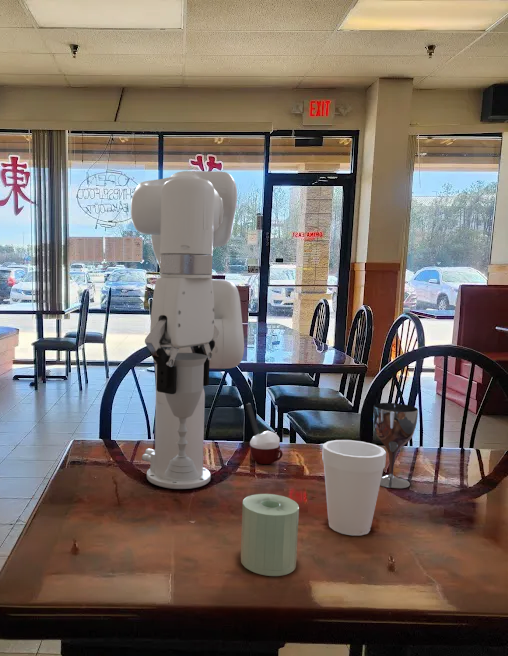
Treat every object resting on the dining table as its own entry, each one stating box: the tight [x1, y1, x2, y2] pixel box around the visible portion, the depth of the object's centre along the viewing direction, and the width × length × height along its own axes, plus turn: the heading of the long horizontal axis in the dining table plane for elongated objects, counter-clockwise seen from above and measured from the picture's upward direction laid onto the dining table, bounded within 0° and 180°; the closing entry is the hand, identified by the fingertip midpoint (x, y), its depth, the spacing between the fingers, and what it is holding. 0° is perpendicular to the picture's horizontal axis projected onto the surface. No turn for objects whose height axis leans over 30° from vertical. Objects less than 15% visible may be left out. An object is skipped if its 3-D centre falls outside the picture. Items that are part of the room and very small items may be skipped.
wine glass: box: [372, 402, 419, 489], centre depth 112 cm, size 8×8×15 cm
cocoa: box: [245, 402, 283, 465], centre depth 123 cm, size 10×6×12 cm, turn 16°
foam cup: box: [321, 439, 387, 536], centre depth 91 cm, size 10×9×13 cm
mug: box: [240, 493, 300, 577], centre depth 81 cm, size 10×8×8 cm
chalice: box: [165, 353, 207, 480], centre depth 85 cm, size 7×7×18 cm
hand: (183, 387), depth 85 cm, fingers closed on chalice, 7 cm apart
